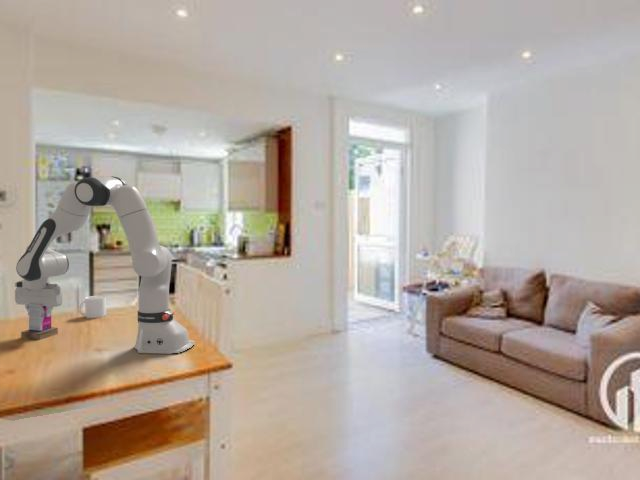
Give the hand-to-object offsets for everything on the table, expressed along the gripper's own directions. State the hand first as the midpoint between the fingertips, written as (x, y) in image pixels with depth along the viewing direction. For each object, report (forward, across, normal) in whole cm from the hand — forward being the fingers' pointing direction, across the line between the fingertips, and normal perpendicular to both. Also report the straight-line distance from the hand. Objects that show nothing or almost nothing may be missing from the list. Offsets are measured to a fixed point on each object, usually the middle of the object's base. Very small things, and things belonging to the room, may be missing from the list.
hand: (39, 315), depth 179 cm
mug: (+9, +2, -33) cm, 34 cm away
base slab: (+8, 0, 0) cm, 8 cm away
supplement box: (+6, 0, 0) cm, 6 cm away
